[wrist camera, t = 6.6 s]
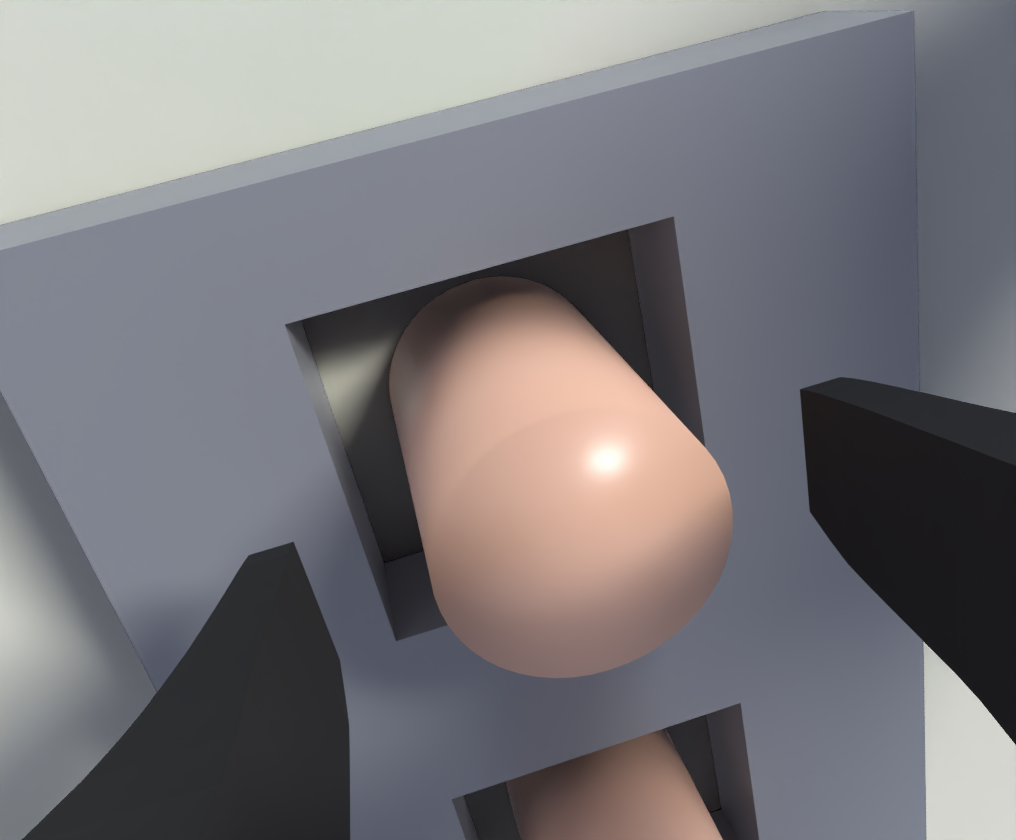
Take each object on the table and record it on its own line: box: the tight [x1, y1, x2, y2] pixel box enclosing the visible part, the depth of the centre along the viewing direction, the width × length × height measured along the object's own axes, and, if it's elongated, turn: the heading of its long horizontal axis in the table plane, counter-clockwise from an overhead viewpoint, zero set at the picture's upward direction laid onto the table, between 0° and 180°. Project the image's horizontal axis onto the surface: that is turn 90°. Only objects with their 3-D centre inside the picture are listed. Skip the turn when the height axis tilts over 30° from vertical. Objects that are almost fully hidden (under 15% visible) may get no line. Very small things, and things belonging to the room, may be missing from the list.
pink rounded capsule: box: [389, 276, 733, 678], centre depth 14 cm, size 4×4×6 cm
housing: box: [0, 11, 926, 840], centre depth 18 cm, size 20×14×2 cm
